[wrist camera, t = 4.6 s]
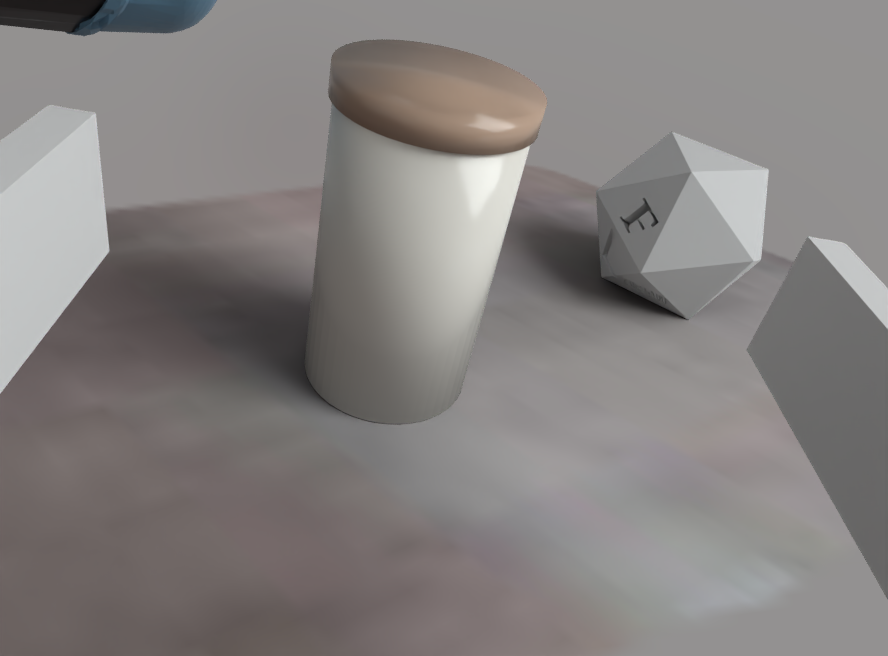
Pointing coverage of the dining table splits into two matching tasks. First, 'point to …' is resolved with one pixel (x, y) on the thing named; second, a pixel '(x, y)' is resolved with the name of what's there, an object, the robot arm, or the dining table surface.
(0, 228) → the robot arm
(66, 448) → the dining table surface
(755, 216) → the die
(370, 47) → the jar
